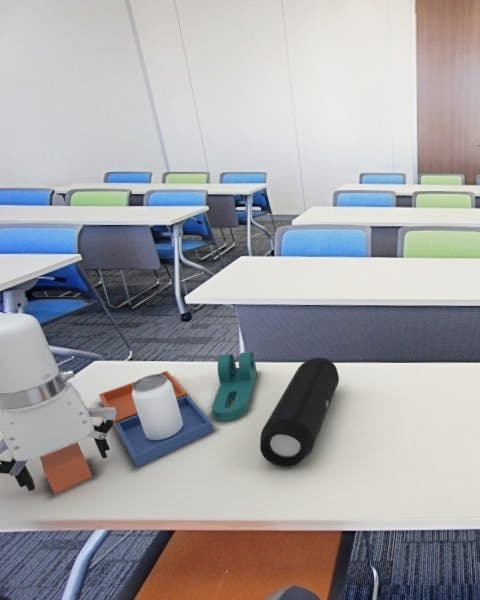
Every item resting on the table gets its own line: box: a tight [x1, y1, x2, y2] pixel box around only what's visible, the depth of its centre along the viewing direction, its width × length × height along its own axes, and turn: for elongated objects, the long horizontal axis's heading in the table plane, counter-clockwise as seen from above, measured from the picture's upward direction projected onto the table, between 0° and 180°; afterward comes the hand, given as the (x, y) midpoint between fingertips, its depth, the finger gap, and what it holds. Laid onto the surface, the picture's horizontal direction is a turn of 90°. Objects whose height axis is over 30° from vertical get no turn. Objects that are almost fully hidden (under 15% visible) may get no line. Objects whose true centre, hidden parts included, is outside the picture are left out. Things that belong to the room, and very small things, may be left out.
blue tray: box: [115, 394, 214, 468], centre depth 82 cm, size 13×13×2 cm
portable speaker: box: [259, 357, 340, 468], centre depth 84 cm, size 26×10×10 cm, turn 2°
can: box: [132, 373, 183, 441], centre depth 80 cm, size 6×6×12 cm
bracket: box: [211, 351, 258, 422], centre depth 92 cm, size 18×7×8 cm, turn 16°
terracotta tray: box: [98, 370, 188, 431], centre depth 90 cm, size 13×13×2 cm
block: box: [39, 441, 93, 495], centre depth 70 cm, size 5×5×5 cm
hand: (69, 469), depth 70 cm, fingers open, 9 cm apart
